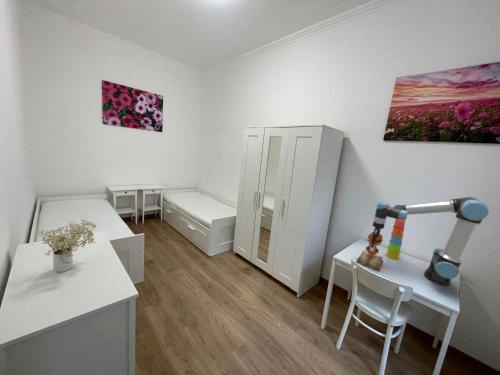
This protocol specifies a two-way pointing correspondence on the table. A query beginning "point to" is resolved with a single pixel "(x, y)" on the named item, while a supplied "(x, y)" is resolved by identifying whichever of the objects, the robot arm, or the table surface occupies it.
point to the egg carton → (370, 261)
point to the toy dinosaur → (378, 241)
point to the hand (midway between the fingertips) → (372, 248)
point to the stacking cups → (396, 240)
